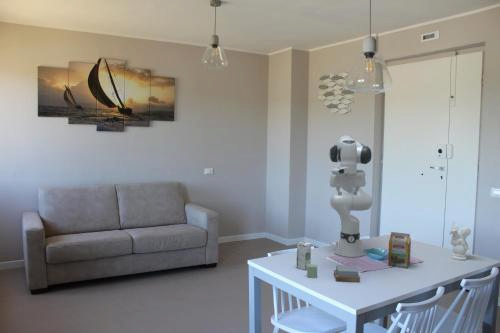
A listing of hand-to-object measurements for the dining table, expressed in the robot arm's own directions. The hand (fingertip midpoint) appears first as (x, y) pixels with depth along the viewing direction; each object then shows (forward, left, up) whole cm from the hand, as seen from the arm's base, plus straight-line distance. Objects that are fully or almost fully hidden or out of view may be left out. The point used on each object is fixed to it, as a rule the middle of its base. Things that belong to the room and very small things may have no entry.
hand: (347, 195), depth 243 cm
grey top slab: (+12, -1, -40) cm, 42 cm away
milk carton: (-16, +33, -43) cm, 56 cm away
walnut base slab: (+12, -1, -43) cm, 45 cm away
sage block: (+11, -19, -43) cm, 48 cm away
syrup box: (-3, -23, -43) cm, 48 cm away
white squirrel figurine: (-34, +72, -43) cm, 90 cm away
